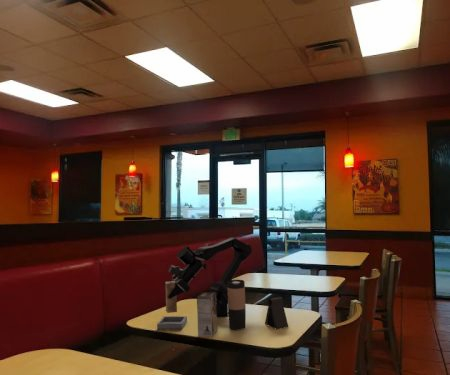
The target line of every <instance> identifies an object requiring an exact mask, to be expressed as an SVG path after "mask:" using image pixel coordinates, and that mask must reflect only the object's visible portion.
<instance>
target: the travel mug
mask: <svg viewBox="0 0 450 375" xmlns="http://www.w3.org/2000/svg"><path fill="white" fill-rule="evenodd" d="M245 284H246V283H245V280H243V279H232V280H230V281H228V293H227V295H228V325H229V326H228V327H229V329H230V330H233V331H241V330H244V329H246V324H247V322H246V318H247V317H246V313H247V312H246V306H247V305H246V287H245V286H246V285H245Z"/></svg>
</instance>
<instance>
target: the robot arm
mask: <svg viewBox="0 0 450 375" xmlns="http://www.w3.org/2000/svg"><path fill="white" fill-rule="evenodd" d="M229 249H232V250H233V257H232V260H231V261H230V263H229V264H228V266H227V268H226V270H224V273H223V274H222V276H221V278H220V279H219V280H218V281H213V282H212V284H211V286H210V287H209V291H208V292H216V304H217V318H229V315H228V281H230V280H234V277H235V275H236V273H237V272H238V270H239V268H240V267H241V265H242V263H243V262H244V261H246V259H248V258H249V257H250V256H251V255H252V253H253V249H252V246H251V245H250V244H247V243H245V242H243V241H241V240H239V239H237V238H235V237H229V238H227V239H225V240H222V241H220V242H218V243H214V244H212V245H207V246H200V247H198V248H197V249H196V250H192V249H191V248H190V247H189V246H187V245H185V246H184V247H183V248H181V249H180V250H179V251H178V252H177V253H176V258H178V259H179V260H180V262H182V263H183V264H184V265H186V267H183V268H181V267H180V266H177V265H176V266H175V265H173V264H170V266H169V269H168V273H170V274H172V275H171V278H172V279H171V281H175V282H176V283H175V287H174V288H173V290H172V291H171V293H170V295H169V296H168V298H169V299H170V298H172V297H174V296H176V295H177V296H178V295H182V294H183V293H185V292H186V293H189V291H190V290H191V286H190V282H192V280H194V279H195V278H196V276H197V275H198V274H199V272H200V270H202V269H204V270H207V268H208V267H207V263H206V262H205V261H209V260H211V259H213V258H214V256H216V255H217V254H219V253H221V252H223V251H226V250H229ZM203 261H204V262H203Z"/></svg>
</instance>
